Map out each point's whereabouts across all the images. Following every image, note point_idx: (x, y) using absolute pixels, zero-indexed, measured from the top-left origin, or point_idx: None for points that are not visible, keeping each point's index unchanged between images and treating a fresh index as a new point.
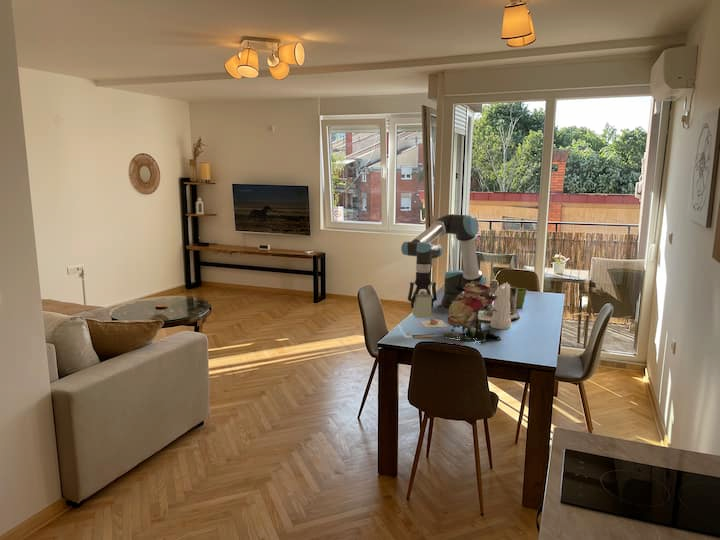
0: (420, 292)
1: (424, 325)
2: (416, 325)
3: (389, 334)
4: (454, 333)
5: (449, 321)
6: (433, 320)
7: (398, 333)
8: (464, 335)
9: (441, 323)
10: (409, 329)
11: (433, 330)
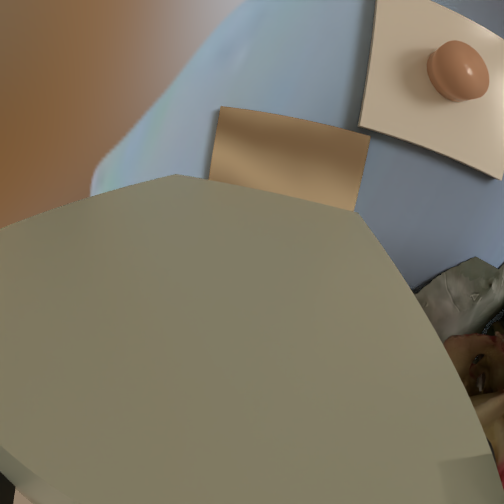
0: (25, 476)
1: (369, 85)
2: (326, 32)
3: (93, 181)
4: (444, 325)
5: (453, 353)
6: (452, 88)
7: (138, 174)
8: (477, 331)
9: (493, 101)
10: (235, 104)
11: (393, 182)
